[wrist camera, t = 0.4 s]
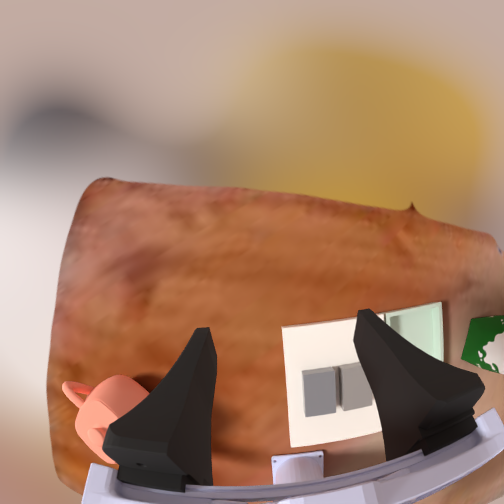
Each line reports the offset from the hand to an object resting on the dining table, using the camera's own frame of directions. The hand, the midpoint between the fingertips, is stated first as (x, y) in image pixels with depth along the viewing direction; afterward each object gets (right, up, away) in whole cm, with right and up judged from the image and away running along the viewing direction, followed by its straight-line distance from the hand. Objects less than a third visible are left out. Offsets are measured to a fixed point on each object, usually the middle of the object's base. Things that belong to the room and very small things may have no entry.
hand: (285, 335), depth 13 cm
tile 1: (+12, -14, +20) cm, 27 cm away
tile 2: (+7, -14, +20) cm, 26 cm away
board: (+10, -15, +23) cm, 29 cm away
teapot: (-20, -22, +24) cm, 39 cm away
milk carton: (+38, -12, +22) cm, 45 cm away
